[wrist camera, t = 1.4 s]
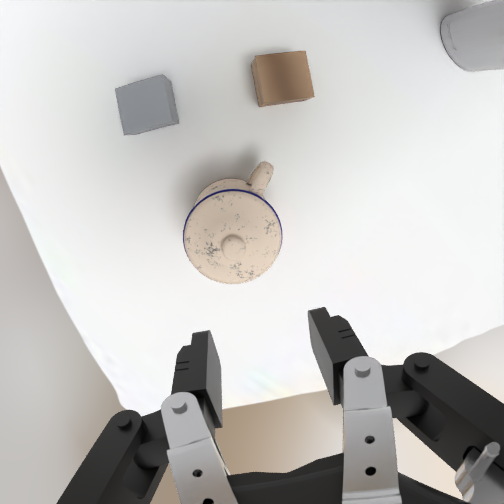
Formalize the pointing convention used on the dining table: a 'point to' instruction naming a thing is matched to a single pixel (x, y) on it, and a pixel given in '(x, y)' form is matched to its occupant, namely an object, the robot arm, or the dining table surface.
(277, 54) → the walnut block
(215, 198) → the teacup with lid
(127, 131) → the slate-grey block
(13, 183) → the dining table surface
